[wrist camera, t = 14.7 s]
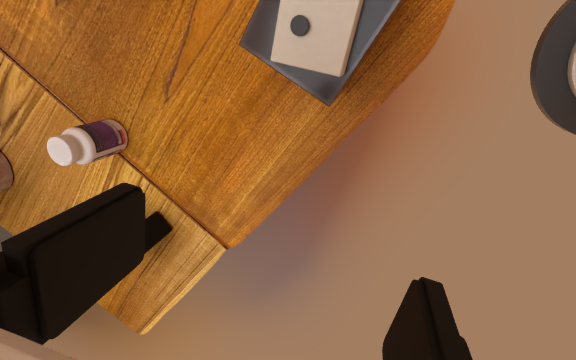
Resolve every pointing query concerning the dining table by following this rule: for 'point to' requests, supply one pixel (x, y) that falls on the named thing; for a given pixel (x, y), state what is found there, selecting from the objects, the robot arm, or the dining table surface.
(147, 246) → the electronic device
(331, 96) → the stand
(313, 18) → the controller
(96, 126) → the pill bottle
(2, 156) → the planter
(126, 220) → the robot arm
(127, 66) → the dining table surface
